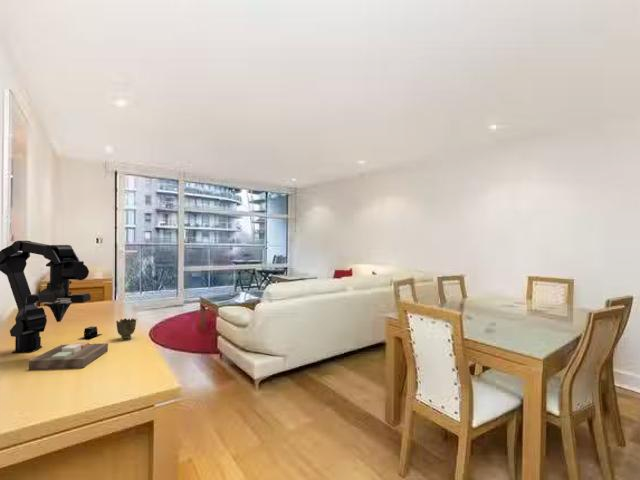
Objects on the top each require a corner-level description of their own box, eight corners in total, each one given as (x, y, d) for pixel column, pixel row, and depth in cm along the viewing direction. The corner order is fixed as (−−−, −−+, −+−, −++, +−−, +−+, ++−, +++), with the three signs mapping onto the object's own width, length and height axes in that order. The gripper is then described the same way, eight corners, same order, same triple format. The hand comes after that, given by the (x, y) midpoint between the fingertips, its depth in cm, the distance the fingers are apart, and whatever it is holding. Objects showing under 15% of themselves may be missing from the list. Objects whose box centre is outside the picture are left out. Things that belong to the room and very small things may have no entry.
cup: (126, 341, 139) (127, 322, 139) (111, 340, 140) (112, 321, 140) (140, 336, 146) (140, 318, 146) (125, 335, 148) (125, 317, 148)
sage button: (51, 366, 110) (51, 356, 110) (58, 361, 114) (59, 352, 114) (64, 365, 110) (64, 355, 110) (71, 361, 114) (72, 351, 114)
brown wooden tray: (28, 370, 108) (28, 360, 108) (61, 352, 124) (61, 344, 125) (83, 368, 110) (83, 358, 110) (107, 351, 127) (107, 343, 127)
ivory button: (61, 357, 115) (61, 348, 115) (68, 353, 119) (68, 344, 119) (74, 357, 116) (74, 347, 116) (80, 353, 120) (81, 344, 120)
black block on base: (93, 333, 152) (93, 323, 152) (108, 334, 152) (108, 324, 152) (71, 342, 140) (71, 331, 140) (88, 342, 139) (88, 331, 139)
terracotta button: (71, 354, 120) (71, 345, 120) (77, 351, 124) (77, 342, 124) (83, 354, 121) (83, 345, 121) (89, 350, 125) (89, 342, 125)
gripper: (14, 281, 114) (13, 327, 114) (74, 281, 116) (74, 326, 116) (37, 278, 125) (36, 320, 125) (91, 278, 127) (91, 319, 127)
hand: (58, 321), depth 123 cm, fingers closed
